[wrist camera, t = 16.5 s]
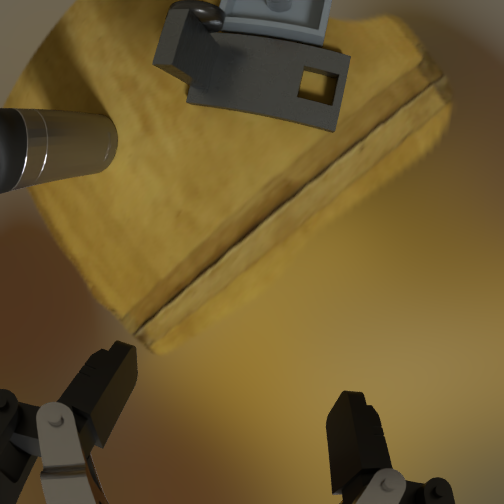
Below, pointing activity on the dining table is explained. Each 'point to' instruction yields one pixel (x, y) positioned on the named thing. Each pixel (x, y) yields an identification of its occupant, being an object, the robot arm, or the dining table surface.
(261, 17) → the tray
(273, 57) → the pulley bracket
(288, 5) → the lock pin
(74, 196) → the dining table surface
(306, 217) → the dining table surface
